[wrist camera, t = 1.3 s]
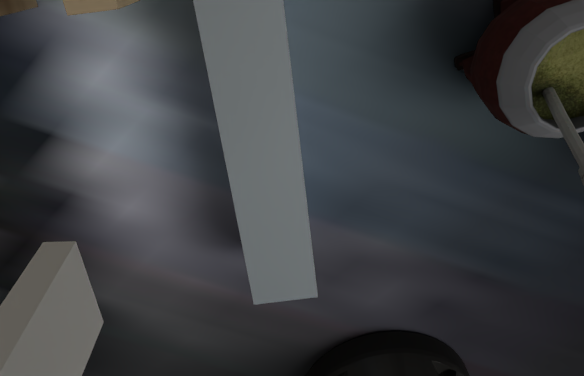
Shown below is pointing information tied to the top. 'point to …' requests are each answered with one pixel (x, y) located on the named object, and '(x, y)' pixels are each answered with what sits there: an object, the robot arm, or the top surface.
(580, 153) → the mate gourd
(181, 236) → the top surface
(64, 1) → the tan lumpy block
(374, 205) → the top surface
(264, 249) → the smooth gray tapered block
